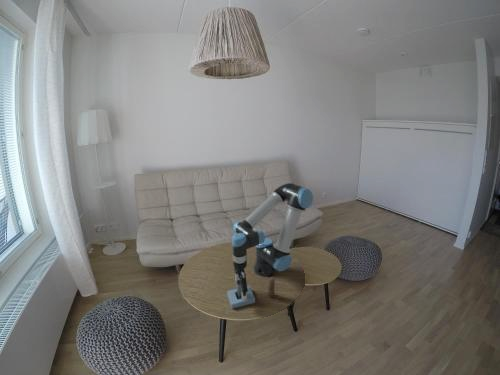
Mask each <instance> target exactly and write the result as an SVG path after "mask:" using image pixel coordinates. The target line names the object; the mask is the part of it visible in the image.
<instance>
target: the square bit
mask: <svg viewBox="0 0 500 375" xmlns="http://www.w3.org/2000/svg"><path fill="white" fill-rule="evenodd" d="M235 286H236V287H235V289H237V296H236V298H237V300H238V299H242V292H241V290H242V287H241V282H240V280H237V281H236V280H235Z"/></svg>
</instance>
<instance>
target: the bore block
mask: <svg viewBox="0 0 500 375" xmlns="http://www.w3.org/2000/svg"><path fill="white" fill-rule="evenodd" d="M247 289H248V292H247V299H244V300H242V299H237V289H236V288H233V289H230V290H227V291H226V292H227V298H228V301H229V305H230V308H231V310H233V309H236V308H240V307H243V306H248V305H251V304H255V303H256V297H255V295H254V292H253V291H252V289H251V286H250V285H247Z"/></svg>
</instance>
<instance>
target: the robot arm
mask: <svg viewBox="0 0 500 375" xmlns="http://www.w3.org/2000/svg"><path fill="white" fill-rule="evenodd" d="M313 200H314V196H313V193H312V191H311V190H310V189H309V188H307V187H304V186H301V185H298V184H295V183H291V182H290V183H289V182H288V183H284V184H281V185H280V186H278V187H277V188H275V189H274V190H272V192H271V194H270V196H269V197H268V198H266V200H264V201H263V202H262V203H261V204H260V205H259V206H258V207H256V208H255V209H254V211H252V212H251V213H250V214H249V215H248V216H247V217H246V218H244V220H242V221H236V222H235V223H234V224H233V226H232V231H233V232H234V233H235V234H233V235H232V239H231V245H232V256H231V258H232V264H233V268H234V269H233V271H234V273H235V274H234V275H235V282H236V281H237V280H240V282H241V287H242V290H241V292H242V300H244V299H247V292H248V289H247V286H248V284H247V283H248V282H247V278H246V277H247V274H246V271H245V269H246V268H247V264H248V263H247V261H248V260H247V257H248V256H247V250H248V249H251V248H254V247H255V251H256V253H255V256H256V257H255V262H254V264H253V272H254V273H255V274H256V275H257V276H259V277H271V276H273V274H275V272H276V271H277V272H283V271H286V270H287V269H288V268H289V267H290V266H291V265H292V261H293V260H292V256H291V252H292V251H291V249H290V247H291V244H292V242H293V239H294V235H295V232H296V230H297V227H298V224H299V221H300V220H301V219H300V217H301V216H302V213H303V212H305V211H306V209H308V208H310V207H311V206H312V203H313ZM286 201H287V203H286V206H287V210H286V214H285V217H284V220H283V223H282V226H281V229H280V232H279V234H278V236H277V240H276V243H275V242H274V240H273V239H272V238H269V237H265V234H264V232H263V231H262V230H254V228H255V227H256V226H257V225H258V224H259V223H261V221H263V220H264V219H265V218H266V217H267V216H268V215H269V214H270V213H271V212H272V211H273V210H275V209H276V208H277V207H278V206H279V205H280V204H283V203H284V202H286Z"/></svg>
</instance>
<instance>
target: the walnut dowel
mask: <svg viewBox="0 0 500 375" xmlns="http://www.w3.org/2000/svg"><path fill="white" fill-rule="evenodd" d="M275 282H276V281H275V278H274V277H273V276H272V277H271V276H269V277H268V282H267V283H268V287H267V288H268V290H267V292H268V293H267V296H268V298H270V299H273V298H275V289H276V288H275V284H276V283H275Z"/></svg>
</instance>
